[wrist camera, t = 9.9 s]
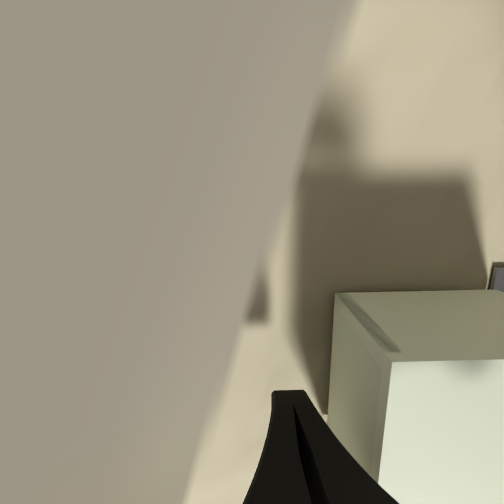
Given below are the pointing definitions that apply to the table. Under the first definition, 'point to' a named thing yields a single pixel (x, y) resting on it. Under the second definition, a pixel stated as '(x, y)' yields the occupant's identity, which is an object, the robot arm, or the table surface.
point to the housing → (422, 392)
